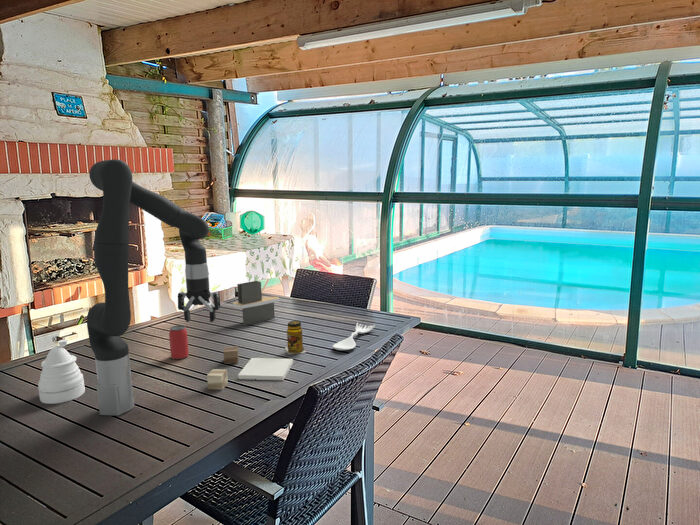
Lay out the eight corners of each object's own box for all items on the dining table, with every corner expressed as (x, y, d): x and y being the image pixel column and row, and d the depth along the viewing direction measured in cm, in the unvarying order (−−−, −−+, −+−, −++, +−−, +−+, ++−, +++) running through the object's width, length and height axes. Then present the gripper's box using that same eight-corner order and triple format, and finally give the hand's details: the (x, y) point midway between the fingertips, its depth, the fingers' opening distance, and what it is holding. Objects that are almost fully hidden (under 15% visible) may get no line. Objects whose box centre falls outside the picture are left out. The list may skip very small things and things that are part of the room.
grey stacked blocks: (276, 308, 260) (275, 272, 257) (304, 318, 241) (303, 279, 238) (208, 324, 235) (205, 284, 232) (234, 337, 217) (231, 293, 213)
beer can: (183, 360, 189) (180, 330, 187) (167, 359, 191) (165, 329, 188) (191, 354, 196) (189, 325, 194) (176, 353, 197) (174, 324, 195)
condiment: (288, 355, 193) (287, 325, 191) (284, 347, 201) (283, 319, 199) (306, 352, 195) (305, 323, 193) (302, 345, 203) (301, 317, 201)
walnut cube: (237, 363, 186) (237, 350, 185) (224, 364, 185) (223, 351, 184) (238, 358, 191) (238, 346, 190) (225, 359, 190) (224, 347, 189)
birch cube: (222, 389, 163) (221, 375, 163) (208, 389, 164) (207, 375, 163) (227, 383, 168) (226, 369, 167) (213, 382, 169) (212, 369, 168)
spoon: (376, 330, 222) (375, 323, 221) (349, 355, 192) (349, 347, 192) (357, 328, 225) (357, 321, 224) (328, 352, 196) (328, 344, 195)
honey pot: (75, 383, 170) (69, 333, 167) (91, 393, 162) (85, 341, 159) (33, 396, 161) (26, 343, 157) (49, 407, 153) (41, 352, 149)
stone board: (283, 380, 170) (282, 376, 169) (238, 379, 171) (237, 374, 171) (293, 362, 185) (293, 358, 185) (251, 361, 187) (251, 357, 187)
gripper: (172, 278, 166) (176, 324, 168) (213, 278, 165) (216, 324, 167) (181, 273, 173) (184, 318, 176) (221, 273, 172) (223, 318, 175)
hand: (200, 321), depth 172 cm, fingers open, 8 cm apart
